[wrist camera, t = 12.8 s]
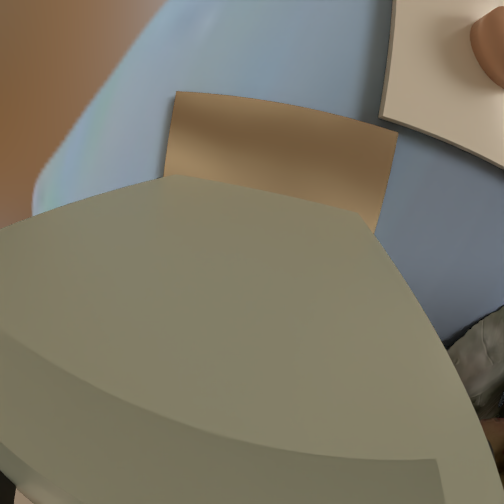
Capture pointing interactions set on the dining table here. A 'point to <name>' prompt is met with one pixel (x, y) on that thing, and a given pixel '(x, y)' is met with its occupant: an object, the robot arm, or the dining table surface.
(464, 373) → the rose bouquet
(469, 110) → the cream plate
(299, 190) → the tan mat
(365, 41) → the dining table surface
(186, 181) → the sage cover
